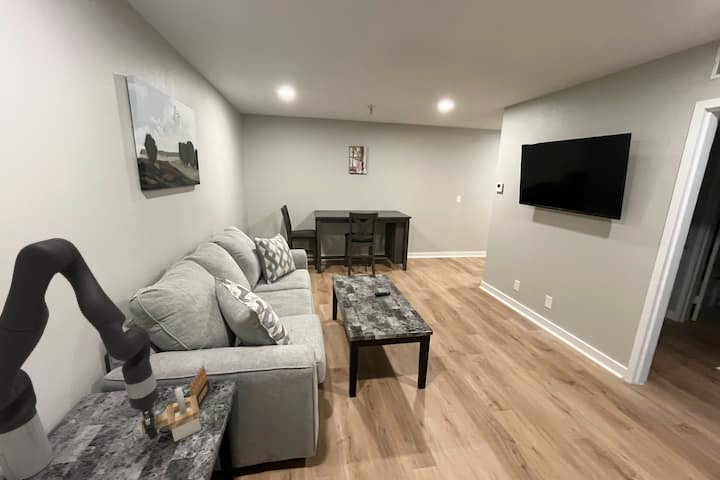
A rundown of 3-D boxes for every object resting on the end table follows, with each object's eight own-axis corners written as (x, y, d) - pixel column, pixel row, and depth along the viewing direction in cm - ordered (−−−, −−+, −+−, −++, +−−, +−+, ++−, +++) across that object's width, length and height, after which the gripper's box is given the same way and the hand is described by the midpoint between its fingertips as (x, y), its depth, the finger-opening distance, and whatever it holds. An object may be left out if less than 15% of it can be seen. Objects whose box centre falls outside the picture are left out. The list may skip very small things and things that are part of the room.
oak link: (143, 442, 93) (141, 436, 93) (143, 422, 101) (141, 416, 100) (200, 416, 102) (199, 410, 102) (196, 400, 109) (195, 394, 109)
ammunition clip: (198, 410, 112) (192, 383, 109) (193, 410, 112) (187, 383, 109) (210, 388, 122) (205, 363, 119) (206, 388, 122) (201, 363, 119)
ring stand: (174, 441, 99) (164, 402, 95) (172, 425, 106) (163, 387, 101) (201, 429, 104) (193, 391, 100) (197, 413, 110) (190, 377, 106)
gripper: (128, 380, 98) (139, 422, 102) (126, 409, 86) (139, 454, 91) (155, 371, 102) (165, 411, 106) (157, 397, 91) (168, 441, 95)
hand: (153, 431), depth 99 cm, fingers open, 5 cm apart
